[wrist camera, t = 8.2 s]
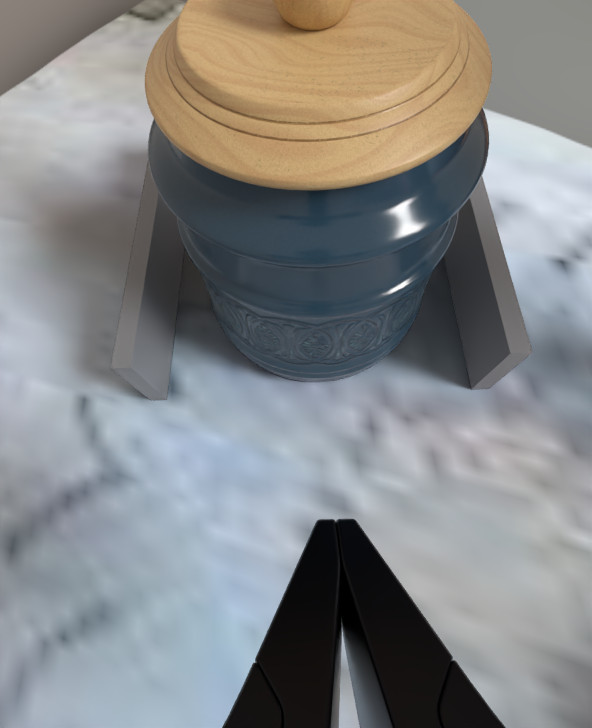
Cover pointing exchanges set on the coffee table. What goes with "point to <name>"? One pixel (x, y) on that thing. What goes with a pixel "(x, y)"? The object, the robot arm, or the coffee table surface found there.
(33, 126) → the coffee table surface
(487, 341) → the corral
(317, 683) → the robot arm
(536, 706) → the coffee table surface
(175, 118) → the canister
